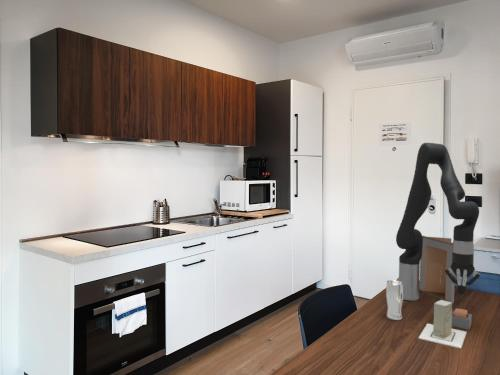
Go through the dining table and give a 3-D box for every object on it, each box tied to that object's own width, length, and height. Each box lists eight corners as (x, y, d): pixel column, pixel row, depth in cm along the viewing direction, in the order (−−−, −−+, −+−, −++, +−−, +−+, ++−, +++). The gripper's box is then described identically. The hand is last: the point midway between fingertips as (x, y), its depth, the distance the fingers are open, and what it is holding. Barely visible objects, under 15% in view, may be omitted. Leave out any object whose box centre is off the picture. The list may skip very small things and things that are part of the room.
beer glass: (384, 318, 167) (385, 283, 166) (386, 313, 173) (387, 279, 172) (401, 321, 163) (402, 285, 162) (404, 315, 169) (404, 281, 168)
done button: (454, 317, 159) (454, 311, 159) (455, 314, 163) (455, 308, 163) (465, 319, 157) (466, 313, 157) (467, 316, 160) (467, 310, 160)
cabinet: (419, 290, 204) (420, 235, 202) (434, 288, 207) (436, 234, 205) (451, 303, 184) (453, 243, 182) (467, 301, 187) (469, 242, 185)
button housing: (449, 325, 159) (449, 315, 159) (452, 320, 165) (452, 310, 165) (469, 329, 155) (469, 319, 155) (471, 324, 161) (471, 314, 161)
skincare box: (444, 338, 147) (445, 306, 146) (432, 334, 150) (433, 303, 149) (451, 333, 151) (452, 302, 150) (439, 330, 154) (440, 299, 153)
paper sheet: (418, 338, 147) (418, 337, 147) (427, 324, 161) (427, 323, 161) (461, 348, 140) (461, 347, 139) (466, 332, 153) (466, 331, 153)
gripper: (443, 251, 159) (441, 294, 160) (481, 255, 151) (479, 300, 152) (446, 248, 165) (445, 289, 166) (482, 251, 158) (481, 294, 159)
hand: (461, 294), depth 159 cm, fingers closed
